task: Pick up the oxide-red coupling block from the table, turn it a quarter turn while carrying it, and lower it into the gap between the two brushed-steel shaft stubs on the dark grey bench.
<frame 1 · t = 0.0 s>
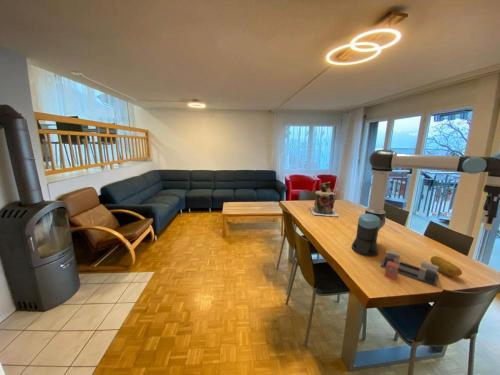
hand: (485, 226, 105), 28 cm above the table, fingers open, 13 cm apart
coupling: (390, 276, 108), on the table
bench: (408, 271, 113), on the table
cookie jar: (323, 212, 209), on the table
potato: (443, 272, 113), on the table
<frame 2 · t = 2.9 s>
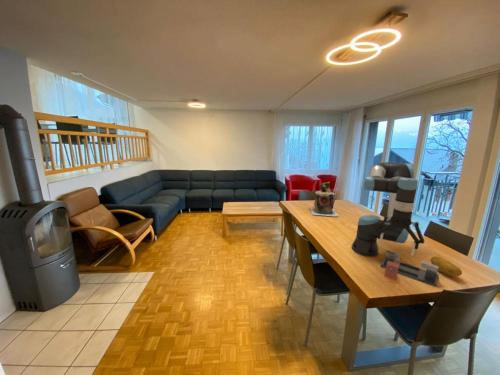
hand: (395, 249, 105), 15 cm above the table, fingers open, 13 cm apart
nothing on the table moved.
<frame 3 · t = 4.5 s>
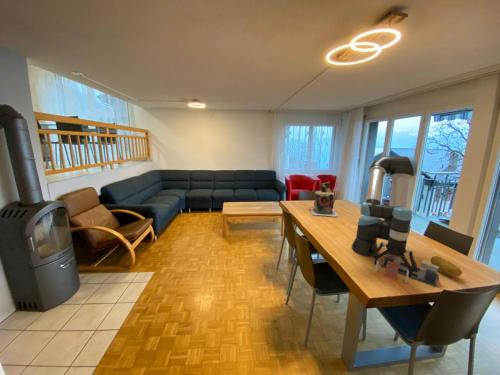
hand: (390, 275, 108), 0 cm above the table, fingers open, 12 cm apart
nothing on the table moved.
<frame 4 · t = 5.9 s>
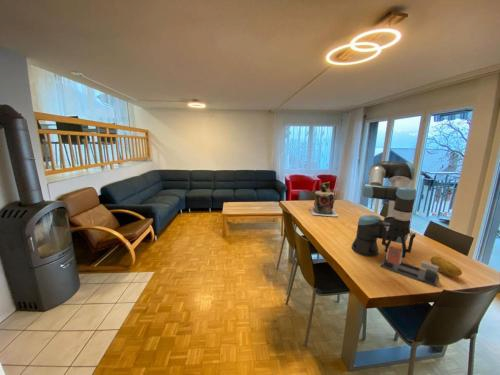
hand: (393, 260, 107), 9 cm above the table, fingers closed on coupling, 5 cm apart
coupling: (393, 261, 107), point 8 cm above the table, touching gripper
everything else where it was.
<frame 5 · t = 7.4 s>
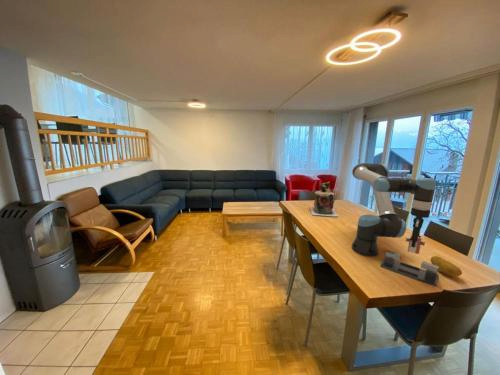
hand: (412, 250, 110), 13 cm above the table, fingers closed on coupling, 5 cm apart
coupling: (413, 251, 110), point 12 cm above the table, touching gripper
everything else where it was.
when the fingers open (1 cm above the table, at t = 9.2 s): coupling stays where it is, resting on bench.
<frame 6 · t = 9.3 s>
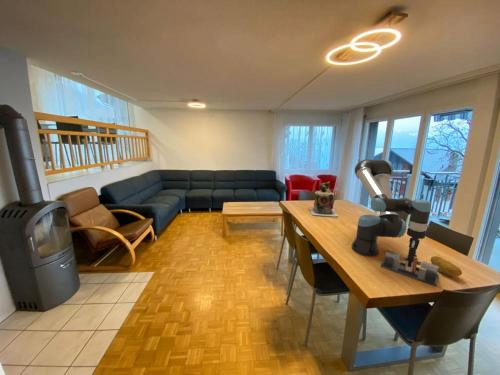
hand: (409, 269, 112), 2 cm above the table, fingers open, 5 cm apart
coupling: (409, 269, 112), point 1 cm above the table, touching bench
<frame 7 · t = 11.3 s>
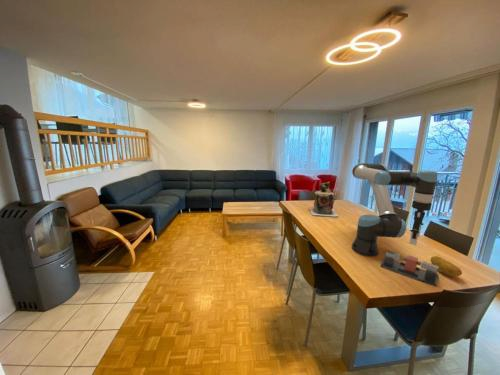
hand: (414, 240, 109), 19 cm above the table, fingers open, 13 cm apart
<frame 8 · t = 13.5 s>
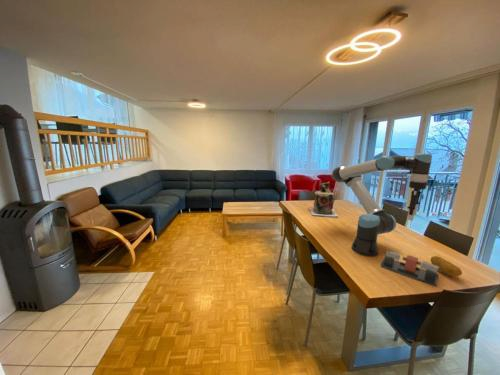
hand: (411, 217, 120), 27 cm above the table, fingers open, 13 cm apart
at the end: coupling 0.5 cm off-centre on the bench, point 1.2 cm above the bench's base; coupling tilted 0°; the gripper is holding nothing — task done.
